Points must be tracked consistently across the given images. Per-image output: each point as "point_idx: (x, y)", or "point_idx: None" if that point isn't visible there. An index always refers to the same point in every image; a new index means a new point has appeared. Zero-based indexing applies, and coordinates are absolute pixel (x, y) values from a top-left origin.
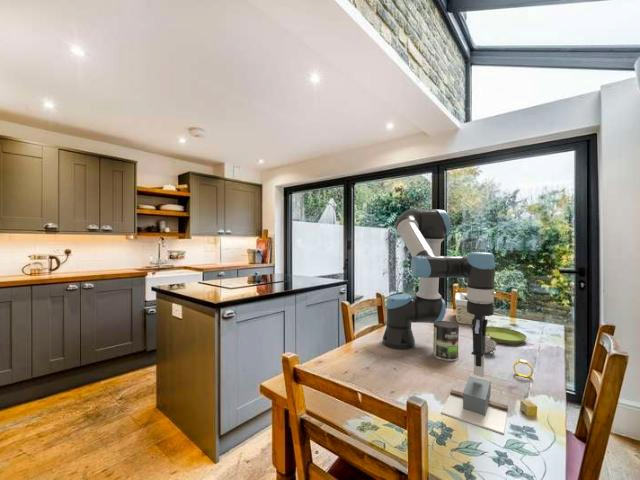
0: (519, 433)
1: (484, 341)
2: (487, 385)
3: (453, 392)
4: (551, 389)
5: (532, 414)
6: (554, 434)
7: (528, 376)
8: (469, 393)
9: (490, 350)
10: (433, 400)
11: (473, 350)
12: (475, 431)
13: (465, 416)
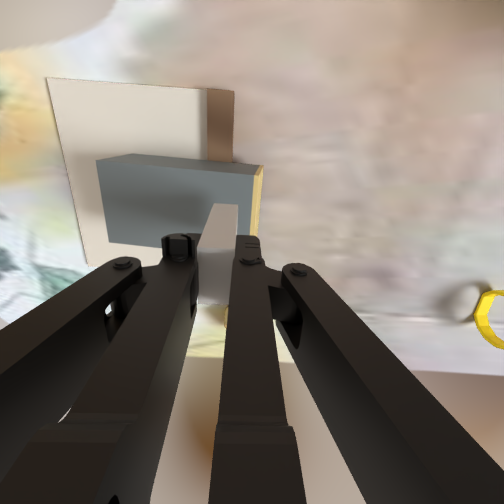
0: None
1: (298, 368)
2: None
3: (211, 103)
4: (410, 356)
5: None
6: None
7: (476, 319)
8: (112, 186)
9: None
10: (121, 24)
11: (80, 281)
12: (42, 201)
13: (89, 167)
